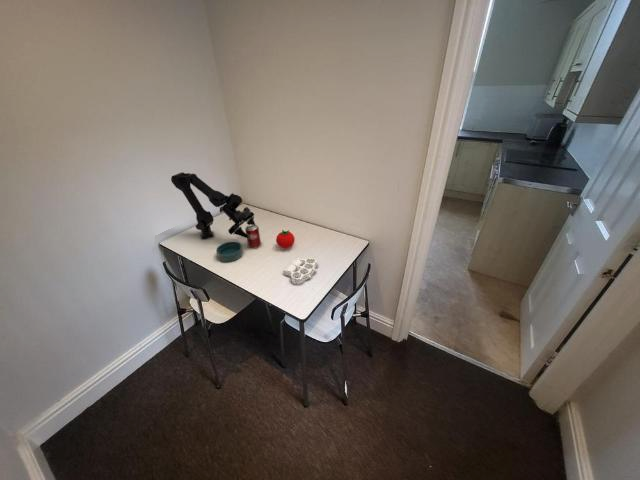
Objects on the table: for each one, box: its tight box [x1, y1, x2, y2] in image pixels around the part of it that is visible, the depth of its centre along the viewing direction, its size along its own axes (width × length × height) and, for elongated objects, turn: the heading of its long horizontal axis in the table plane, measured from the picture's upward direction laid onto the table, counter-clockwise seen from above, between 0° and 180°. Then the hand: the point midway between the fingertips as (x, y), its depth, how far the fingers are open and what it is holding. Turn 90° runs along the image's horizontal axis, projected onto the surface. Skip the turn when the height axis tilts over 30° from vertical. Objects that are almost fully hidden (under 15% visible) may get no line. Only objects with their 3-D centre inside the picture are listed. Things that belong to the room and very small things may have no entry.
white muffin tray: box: [282, 257, 318, 285], centre depth 126 cm, size 3×18×15 cm
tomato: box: [275, 229, 296, 249], centre depth 143 cm, size 10×10×10 cm
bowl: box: [215, 241, 244, 263], centre depth 138 cm, size 13×13×4 cm
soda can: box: [244, 224, 262, 249], centre depth 144 cm, size 7×7×12 cm
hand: (252, 233), depth 143 cm, fingers open, 9 cm apart
